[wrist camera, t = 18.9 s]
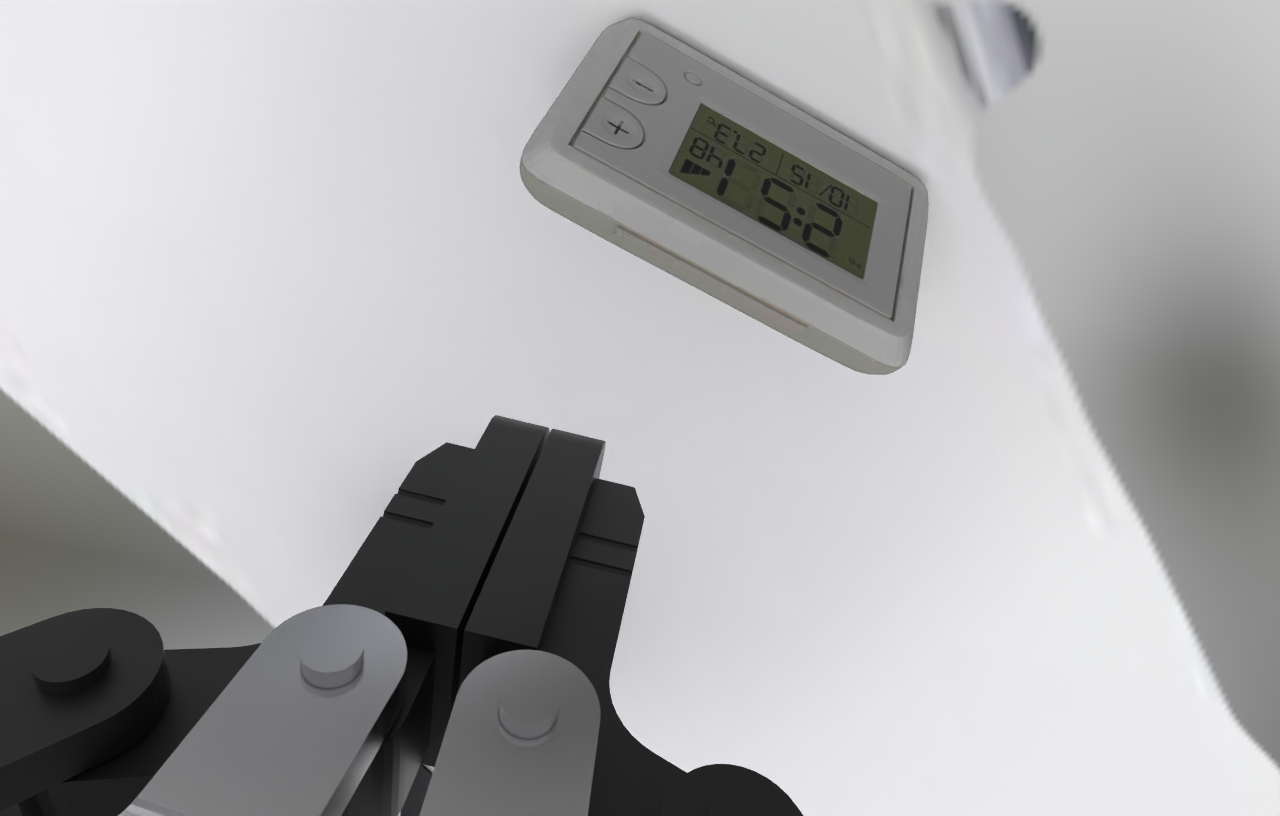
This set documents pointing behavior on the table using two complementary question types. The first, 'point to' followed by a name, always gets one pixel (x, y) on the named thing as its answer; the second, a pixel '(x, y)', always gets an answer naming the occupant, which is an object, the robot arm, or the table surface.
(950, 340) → the table surface
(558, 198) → the digital clock
